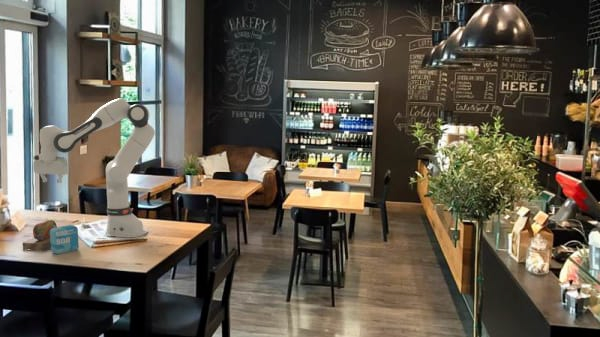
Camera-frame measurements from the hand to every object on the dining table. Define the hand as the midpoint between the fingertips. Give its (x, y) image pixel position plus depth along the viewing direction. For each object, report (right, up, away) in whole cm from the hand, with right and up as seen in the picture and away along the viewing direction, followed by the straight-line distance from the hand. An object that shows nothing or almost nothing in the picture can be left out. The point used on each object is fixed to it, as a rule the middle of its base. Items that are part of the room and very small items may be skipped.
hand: (52, 182), depth 320 cm
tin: (+3, -28, -15) cm, 32 cm away
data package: (+17, -33, -26) cm, 45 cm away
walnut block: (+3, -32, -14) cm, 35 cm away
